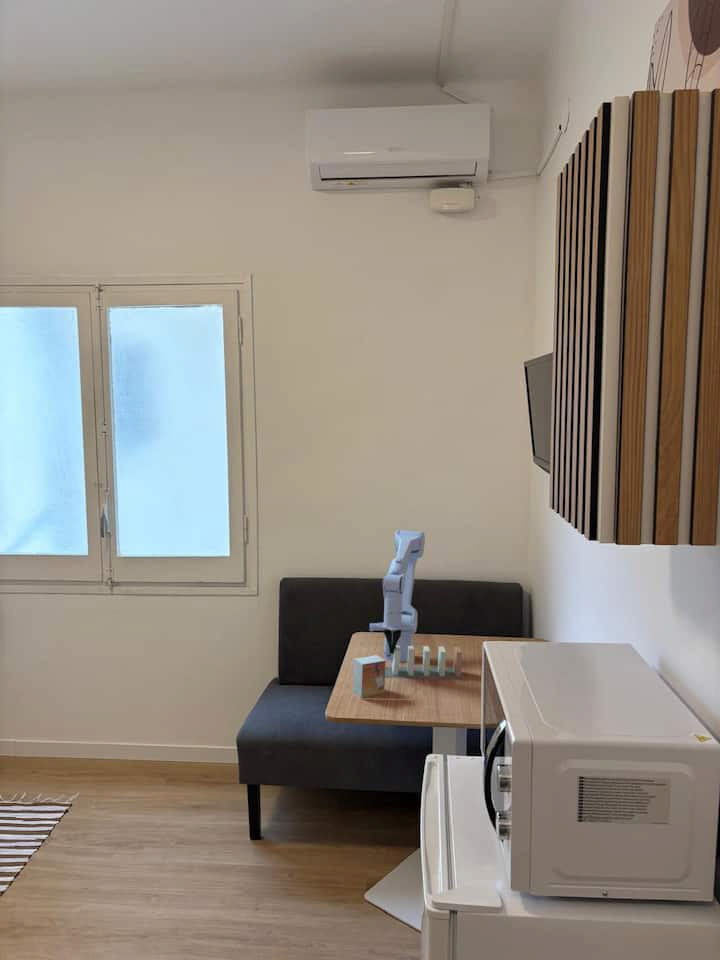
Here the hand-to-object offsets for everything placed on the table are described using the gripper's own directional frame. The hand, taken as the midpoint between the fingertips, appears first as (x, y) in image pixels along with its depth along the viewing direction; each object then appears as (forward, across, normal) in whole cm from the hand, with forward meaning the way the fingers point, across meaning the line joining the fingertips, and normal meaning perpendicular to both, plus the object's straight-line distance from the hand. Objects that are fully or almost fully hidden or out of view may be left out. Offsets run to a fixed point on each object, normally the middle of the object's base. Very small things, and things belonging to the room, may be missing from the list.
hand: (391, 652), depth 219 cm
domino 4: (+6, +16, 0) cm, 18 cm away
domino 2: (+6, +6, 0) cm, 9 cm away
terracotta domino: (+6, +21, 0) cm, 22 cm away
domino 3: (+6, +11, 0) cm, 13 cm away
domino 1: (+6, +1, 0) cm, 7 cm away
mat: (+7, +10, 0) cm, 12 cm away
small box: (+7, -8, -16) cm, 19 cm away
